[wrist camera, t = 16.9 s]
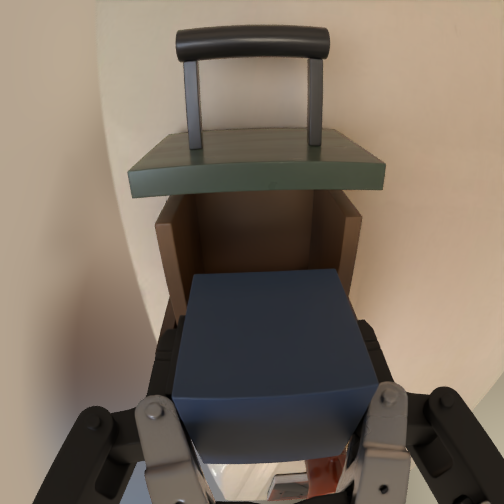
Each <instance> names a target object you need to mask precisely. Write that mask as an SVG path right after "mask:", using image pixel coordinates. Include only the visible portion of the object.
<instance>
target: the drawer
mask: <svg viewBox="0 0 504 504" xmlns="http://www.w3.org/2000/svg"><path fill="white" fill-rule="evenodd" d="M329 50H330V36H329V32H328V30H327V28H323V27H311V26H295V25H232V26H216V27H204V28H194V29H186V30H179V31H177V34H176V53H177V57H178V60H179V62H183V66H184V84H185V99H186V113H187V126H188V133H179V134H169V135H168V136H167V137H166V138H164V139H163V140H162V141H161V142H160V143H159V144H157V145H156V146H155V147H154V148H153V149H152V150H151V151H149V152H148V153H147V154H146V155H145V156H144V157H143V158H142V159H141V160H140V161H138V162H137V163H136V164H135V165H134V166H133V167H132V168H131V169H130V170H129V171H128V178H129V183H130V189H131V194H132V198H143V197H155V196H168V195H170V196H169V198H168V200H167V202H166V204H165V206H164V207H163V209H162V211H161V213H160V215H159V217H158V219H157V221H156V223H155V229H156V234H157V239H158V245H159V249H160V254H161V259H162V264H163V268H164V273H165V277H166V282H167V286H168V290H169V295H170V299H171V303H172V307H173V311H174V315H175V319H176V323H177V325H178V320H179V316H180V315H186V311H187V306H188V301H189V295H190V290H191V286H192V281H193V276H194V274H215V273H244V272H270V271H293V270H314V269H336V271H337V274H338V276H339V279H340V281H341V283H342V286H343V288H344V291H345V293H346V296H347V298H348V296H349V291H350V286H351V281H352V275H353V270H354V265H355V259H356V253H357V247H358V241H359V235H360V229H361V222H362V216H361V214H360V213H359V212H358V210H357V209H356V208H355V206H354V205H353V204H352V203H351V201H350V200H349V199H348V197H347V196H346V195H345V194H344V192H343V191H342V190H383V183H384V176H385V167H386V164H385V163H384V162H382V161H381V160H380V159H378V158H377V157H375V156H374V155H373V154H371V153H370V152H368V151H367V150H365V149H364V148H362V147H361V146H359V145H358V144H356V143H355V142H353V141H352V140H350V139H349V138H347V137H346V136H344V135H343V134H341V133H339V132H338V131H336V130H334V129H322V105H323V60H322V59H327V57H328V54H329ZM249 57H286V58H310V59H308V60H307V63H308V105H307V129H303V128H266V129H234V130H216V131H202V117H201V101H200V84H199V64H198V61H200V60H211V59H226V58H249Z"/></svg>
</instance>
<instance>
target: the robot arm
mask: <svg viewBox="0 0 504 504" xmlns="http://www.w3.org/2000/svg"><path fill="white" fill-rule="evenodd" d="M352 311H353V310H352ZM353 314H354V313H353ZM185 316H186V315H180V316H179V320H178V325H177V329H166V331H165V332H164V333H163V335H162V336H161V337H160V339H159V343H158V347H157V352H156V356H155V361H154V365H153V369H152V374H151V378H150V383H149V387H148V393H147V395H146V397H145V398H144V399H143V400H141V401H140V402H139V403H138V405H137V407H135V408H132V409H130V410H125V411H120V412H115V413H110V412H109V411H108V410H107V409H105V408H103V407H100V406H92V407H89V408H87V409H85V410H84V411H82V412H81V413H80V415H79V416H78V418H77V420H76V422H75V423H74V425H73V427H72V429H71V431H70V432H69V434H68V436H67V438H66V440H65V441H64V443H63V445H62V447H61V449H60V451H59V453H58V454H57V456H56V458H55V460H54V462H53V464H52V466H51V468H50V469H49V472H48V474H47V475H46V477H45V479H44V481H43V483H42V485H41V487H40V489H39V491H38V493H37V495H36V497H35V499H34V502H33V504H119V503H120V501H121V499H122V496H123V494H124V492H125V489H126V487H127V484H128V482H129V480H130V477H131V475H132V473H133V470H134V468H135V466H136V464H137V462H140V461H145V462H146V470H145V480H146V484H147V488H148V491H149V494H150V498H151V501H152V504H259V503H253V502H222V501H215V499H214V497H213V494H212V492H211V490H210V488H209V486H208V484H207V482H206V479H205V477H204V474H203V471H202V469H201V466H200V463H199V461H198V458H197V455H196V453H195V450H194V447H193V444H192V441H191V438H190V436H189V434H188V432H187V430H186V428H185V426H184V423H183V421H182V419H181V417H180V415H179V413H178V411H177V408H176V406H175V404H174V402H173V399H172V391H173V385H174V378H175V372H176V366H177V360H178V355H179V349H180V343H181V338H182V332H183V327H184V321H185ZM354 316H355V315H354ZM355 319H356V318H355ZM356 321H357V324H358V327H359V329H360V332H361V335H362V337H363V340H364V343H365V345H366V348H367V351H368V354H369V356H370V359H371V362H372V365H373V368H374V371H375V373H376V376H377V379H378V382H379V386H378V388H377V390H376V392H375V394H374V396H373V398H372V400H371V402H370V404H369V406H368V408H367V410H366V412H365V413H364V415H363V417H362V419H361V421H360V422H359V424H358V426H357V428H356V429H355V431H354V433H353V435H352V436H351V438H350V440H349V445H348V450H347V455H346V459H345V464H344V468H343V472H342V475H341V477H340V479H339V482H338V485H337V488H336V492H335V493H332V494H326V495H320V496H314V497H312V498H309V499H306V500H303V501H300V502H298V503H294V504H405V502H406V495H407V489H408V481H409V473H410V463H411V457H412V458H413V460H414V462H415V464H416V465H417V467H418V469H419V470H420V472H421V474H422V475H423V477H424V479H425V481H426V482H427V484H428V486H429V488H430V489H431V491H432V493H433V494H434V497H435V498H436V500H437V502H438V504H504V458H503V457H502V455H501V454H500V452H499V451H498V449H497V448H496V446H495V445H494V443H493V442H492V440H491V439H490V437H489V436H488V434H487V433H486V431H485V430H484V429H483V427H482V426H481V424H480V423H479V422H478V420H477V419H476V417H475V416H474V414H473V413H472V412H471V410H470V409H469V407H468V406H467V405H466V403H465V402H464V401H463V399H462V398H461V396H460V395H459V394H458V393H457V392H456V391H455V390H454V389H452V388H450V387H438V388H436V389H435V390H434V391H433V392H432V393H431V394H430V395H426V394H414V393H409V392H406V391H405V390H404V388H403V387H402V386H400V385H399V384H397V383H395V382H394V380H393V378H392V375H391V373H390V370H389V368H388V365H387V362H386V360H385V357H384V355H383V352H382V350H381V349H380V345H379V342H378V341H377V337H376V335H375V333H374V330H373V328H372V327H371V326H370V325H369V324H368V323H367V322H366V321H365V320H356ZM406 448H407V450H408V451H406ZM410 455H411V456H410ZM381 493H382V494H381Z"/></svg>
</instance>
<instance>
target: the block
mask: <svg viewBox="0 0 504 504" xmlns="http://www.w3.org/2000/svg"><path fill="white" fill-rule="evenodd" d="M378 386H379V382H378V379H377V376H376V373H375V371H374V368H373V365H372V362H371V359H370V356H369V354H368V351H367V348H366V345H365V343H364V340H363V337H362V335H361V332H360V329H359V327H358V324H357V321H356V319H355V316H354V314H353V311H352V308H351V306H350V303H349V301H348V298H347V296H346V293H345V291H344V288H343V286H342V283H341V281H340V279H339V276H338V274H337V271H336V269H314V270H293V271H270V272H244V273H215V274H194V276H193V281H192V286H191V290H190V295H189V301H188V306H187V311H186V316H185V321H184V327H183V332H182V338H181V343H180V349H179V355H178V360H177V366H176V372H175V378H174V385H173V391H172V399H173V402H174V404H175V406H176V408H177V411H178V413H179V415H180V417H181V419H182V421H183V423H184V426H185V428H186V430H187V432H188V434H189V436H190V438H191V440H192V442H193V444H194V446H195V448H196V450H197V451H198V453H199V456H200V457H201V459H202V461H203V463H206V464H257V463H276V462H289V461H300V460H309V459H317V458H324V457H331V456H338V455H340V454H341V453H342V451H343V450H344V448H345V446H346V445H347V443H348V441H349V440H350V438H351V436H352V435H353V433H354V431H355V429H356V428H357V426H358V424H359V422H360V421H361V419H362V417H363V415H364V413H365V412H366V410H367V408H368V406H369V404H370V402H371V400H372V398H373V396H374V394H375V392H376V390H377V388H378Z"/></svg>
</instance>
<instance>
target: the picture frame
mask: <svg viewBox="0 0 504 504" xmlns="http://www.w3.org/2000/svg"><path fill="white" fill-rule="evenodd" d="M307 492H308V478H307V473H302V474H290V475H276V476H275V477H274V480H273V482H272V485H271V487H270V490H269V492H268V495H267V501H279V500H292V499H303V498H306V497H307Z"/></svg>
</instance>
